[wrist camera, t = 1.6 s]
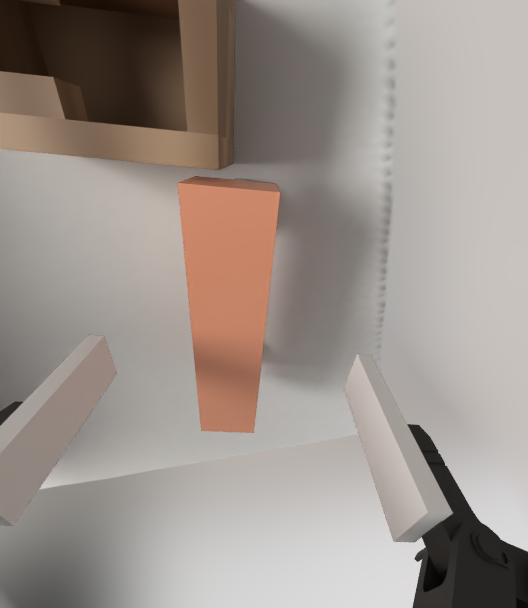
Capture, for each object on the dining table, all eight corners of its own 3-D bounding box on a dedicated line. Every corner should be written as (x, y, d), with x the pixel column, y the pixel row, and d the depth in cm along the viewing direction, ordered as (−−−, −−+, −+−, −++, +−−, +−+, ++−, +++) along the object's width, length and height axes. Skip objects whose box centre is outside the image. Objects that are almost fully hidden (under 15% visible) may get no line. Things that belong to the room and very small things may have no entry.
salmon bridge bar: (255, 363, 25) (253, 432, 19) (216, 361, 24) (201, 430, 18) (273, 176, 16) (280, 192, 10) (210, 170, 15) (177, 182, 9)
